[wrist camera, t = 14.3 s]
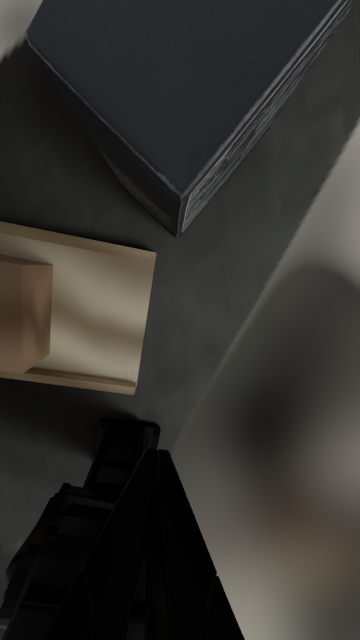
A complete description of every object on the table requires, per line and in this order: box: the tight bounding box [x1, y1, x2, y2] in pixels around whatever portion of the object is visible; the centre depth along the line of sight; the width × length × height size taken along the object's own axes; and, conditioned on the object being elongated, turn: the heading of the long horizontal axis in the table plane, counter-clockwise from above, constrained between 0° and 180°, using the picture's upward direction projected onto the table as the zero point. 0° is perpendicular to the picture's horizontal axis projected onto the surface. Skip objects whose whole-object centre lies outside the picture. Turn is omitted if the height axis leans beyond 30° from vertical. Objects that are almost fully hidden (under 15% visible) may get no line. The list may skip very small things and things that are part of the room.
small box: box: [26, 0, 357, 238], centre depth 10 cm, size 11×6×10 cm, turn 139°
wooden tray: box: [0, 221, 156, 395], centre depth 15 cm, size 13×22×4 cm, turn 79°
